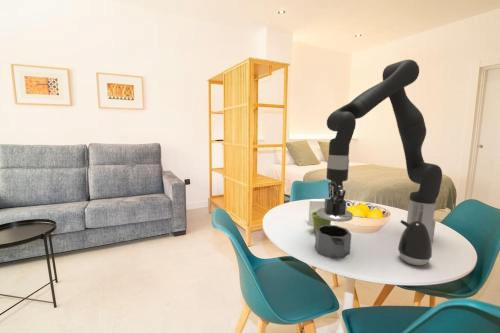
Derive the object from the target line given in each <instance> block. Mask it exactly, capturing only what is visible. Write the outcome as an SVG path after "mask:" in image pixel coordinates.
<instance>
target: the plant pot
mask: <svg viewBox="0 0 500 333" xmlns="http://www.w3.org/2000/svg"><path fill="white" fill-rule="evenodd" d="M312 216H313V222H314V226H313V231H314V233H315V234H316V228H318V227H320V226H322V225H324V224H329V225H331V222H332V221H330V220H325V219H323V218H320V217H319V216H318V215H317V211H315V212H312Z"/></svg>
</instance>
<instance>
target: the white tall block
mask: <svg viewBox="0 0 500 333" xmlns="http://www.w3.org/2000/svg"><path fill="white" fill-rule="evenodd" d="M324 207H325V199H318V198H317V199H309V206H308V224H309V225H310V226H312V227H314V222H313V216H312V212H315V211H317V210H318V209H320V208H324Z"/></svg>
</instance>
